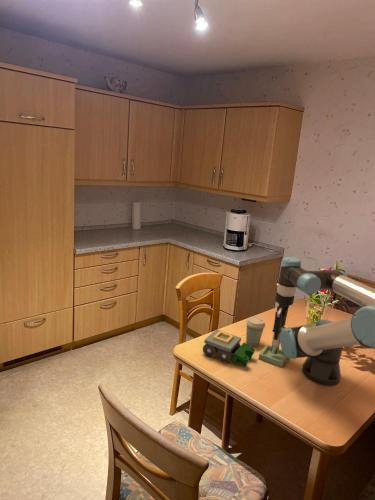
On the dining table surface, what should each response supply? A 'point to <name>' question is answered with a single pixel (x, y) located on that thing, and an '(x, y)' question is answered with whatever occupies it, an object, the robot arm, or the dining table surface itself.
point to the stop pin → (274, 348)
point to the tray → (273, 356)
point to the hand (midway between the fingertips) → (276, 343)
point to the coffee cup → (254, 331)
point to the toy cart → (221, 345)
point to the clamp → (243, 354)
